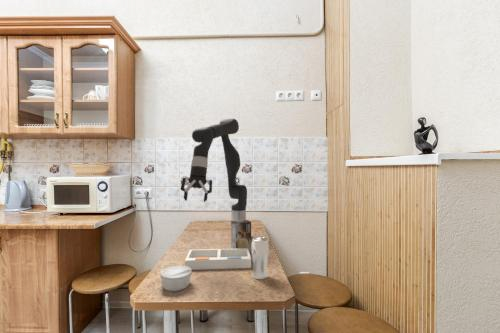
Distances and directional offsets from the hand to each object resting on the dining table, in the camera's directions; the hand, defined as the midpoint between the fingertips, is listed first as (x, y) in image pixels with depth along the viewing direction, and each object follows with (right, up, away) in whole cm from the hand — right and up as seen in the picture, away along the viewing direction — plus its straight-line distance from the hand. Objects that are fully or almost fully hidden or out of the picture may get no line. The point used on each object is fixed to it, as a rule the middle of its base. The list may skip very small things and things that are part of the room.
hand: (195, 201), depth 114 cm
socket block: (+11, -28, -1) cm, 30 cm away
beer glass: (+29, -28, -15) cm, 44 cm away
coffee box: (+21, -29, +14) cm, 38 cm away
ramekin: (-2, -28, -23) cm, 36 cm away
